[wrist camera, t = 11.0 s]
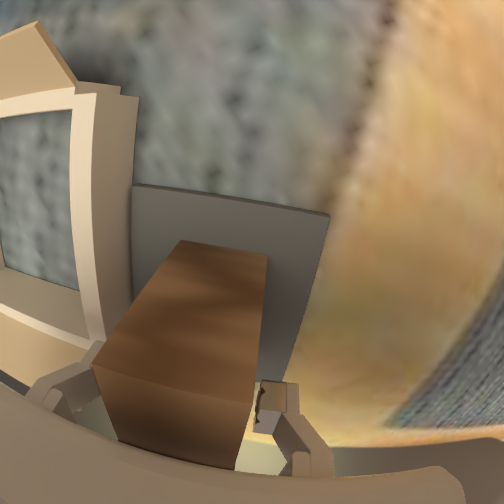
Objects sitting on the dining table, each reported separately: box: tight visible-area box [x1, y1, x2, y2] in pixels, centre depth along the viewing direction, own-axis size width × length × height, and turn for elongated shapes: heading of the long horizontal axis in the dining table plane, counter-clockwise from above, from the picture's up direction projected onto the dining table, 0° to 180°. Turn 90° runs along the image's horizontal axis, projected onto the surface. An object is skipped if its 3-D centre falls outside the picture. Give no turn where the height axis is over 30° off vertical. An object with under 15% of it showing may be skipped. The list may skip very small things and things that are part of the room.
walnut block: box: [91, 240, 268, 471], centre depth 12 cm, size 5×7×9 cm, turn 171°
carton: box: [0, 20, 140, 411], centre depth 12 cm, size 14×19×7 cm
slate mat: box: [131, 184, 330, 382], centre depth 17 cm, size 10×12×1 cm
